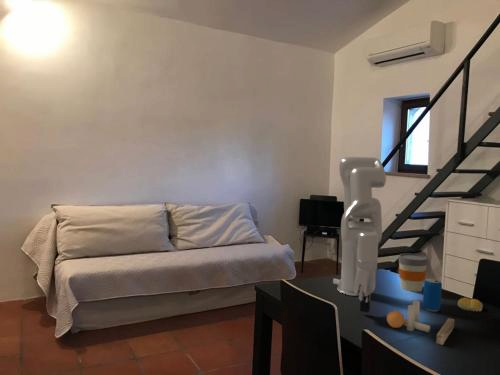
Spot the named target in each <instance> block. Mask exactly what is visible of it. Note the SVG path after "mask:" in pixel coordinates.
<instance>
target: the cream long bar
mask: <svg viewBox="0 0 500 375" xmlns="http://www.w3.org/2000/svg"><path fill="white" fill-rule="evenodd" d="M454 328H455V319H453V318H449V317H448V318H447V319H446V321H445V323H443V325H442V326H441V328H440V329H439V331H437V334H436V339H435V340H436V342H435V345H436V344H437V345H440V346H443V345H444V344H445V342H446V340H447V339H448V338H449V335H450V334H451V333H452V332H453V329H454Z"/></svg>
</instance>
